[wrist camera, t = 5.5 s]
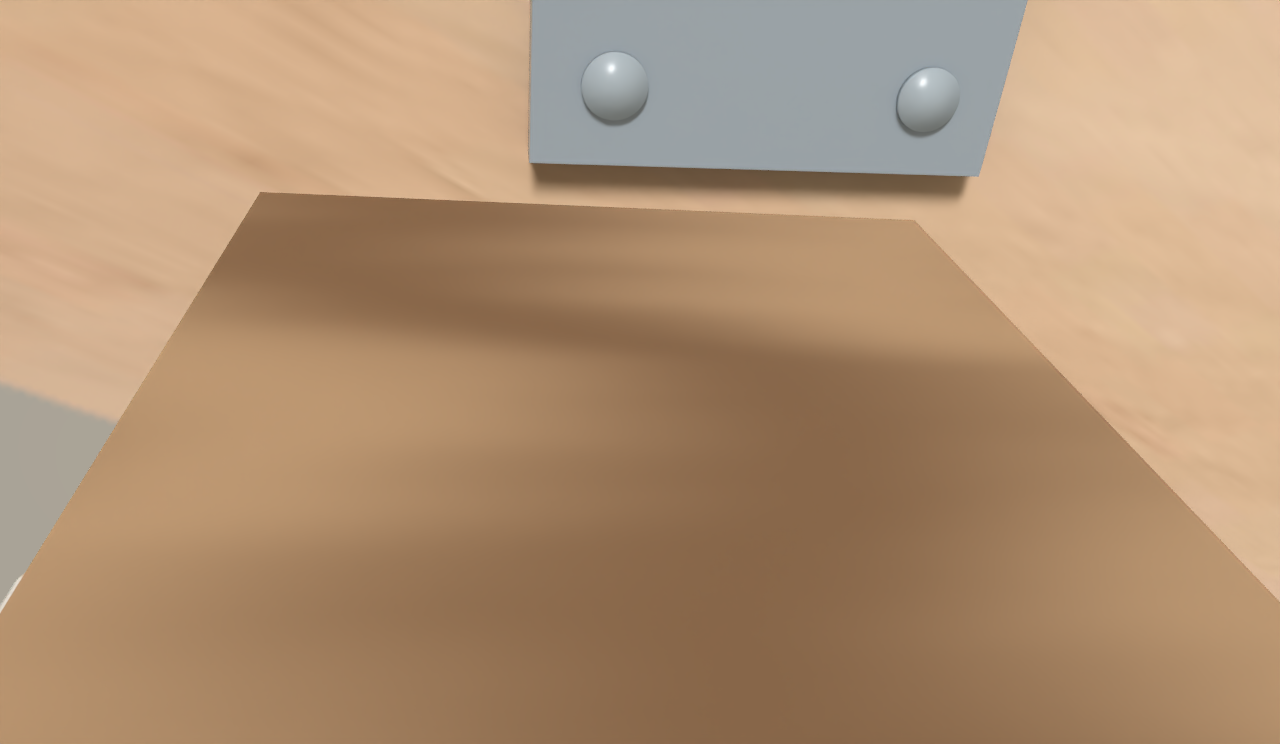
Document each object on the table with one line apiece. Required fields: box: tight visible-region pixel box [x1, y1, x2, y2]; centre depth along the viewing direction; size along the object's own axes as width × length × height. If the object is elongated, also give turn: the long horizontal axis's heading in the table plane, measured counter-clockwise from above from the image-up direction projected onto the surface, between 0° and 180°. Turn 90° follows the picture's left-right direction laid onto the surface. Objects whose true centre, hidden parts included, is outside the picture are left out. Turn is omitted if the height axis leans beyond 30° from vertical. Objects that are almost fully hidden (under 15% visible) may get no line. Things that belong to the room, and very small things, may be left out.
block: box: [0, 192, 1280, 744], centre depth 8 cm, size 6×6×6 cm
